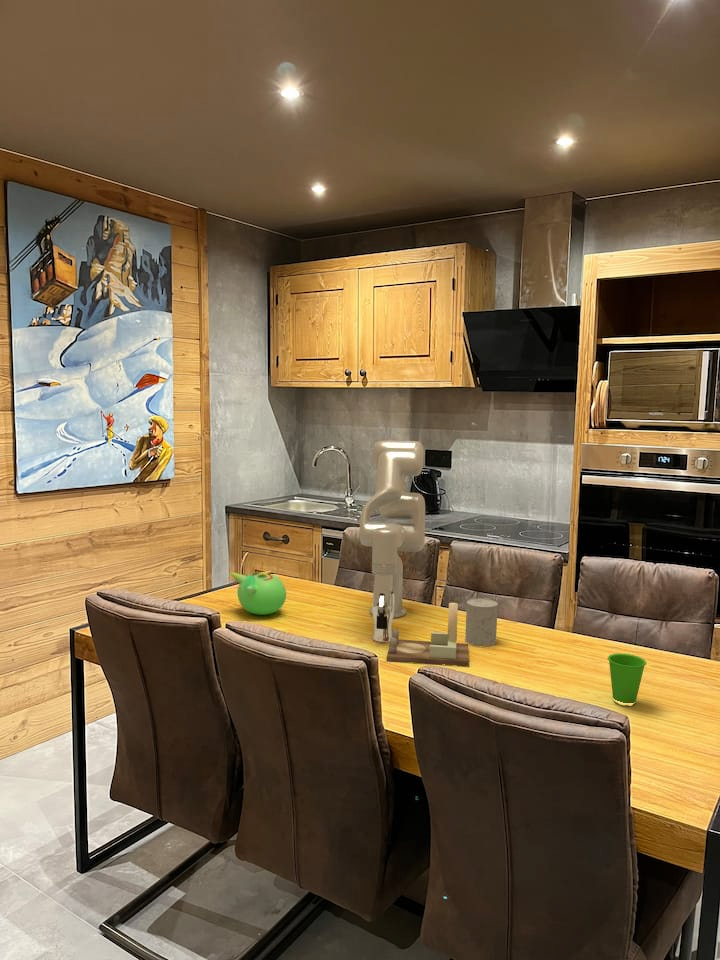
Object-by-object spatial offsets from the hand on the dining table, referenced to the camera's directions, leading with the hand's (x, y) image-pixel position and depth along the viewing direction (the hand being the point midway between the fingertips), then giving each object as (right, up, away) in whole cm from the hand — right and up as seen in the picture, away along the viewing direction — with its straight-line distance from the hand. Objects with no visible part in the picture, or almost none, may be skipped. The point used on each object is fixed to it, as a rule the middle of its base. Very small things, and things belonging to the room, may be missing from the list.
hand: (382, 624), depth 224 cm
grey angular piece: (+17, -5, -13) cm, 22 cm away
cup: (+59, -11, -43) cm, 74 cm away
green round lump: (-41, -1, +25) cm, 48 cm away
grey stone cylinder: (+30, -5, +1) cm, 31 cm away
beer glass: (0, -5, +1) cm, 5 cm away
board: (+13, -6, -12) cm, 19 cm away
